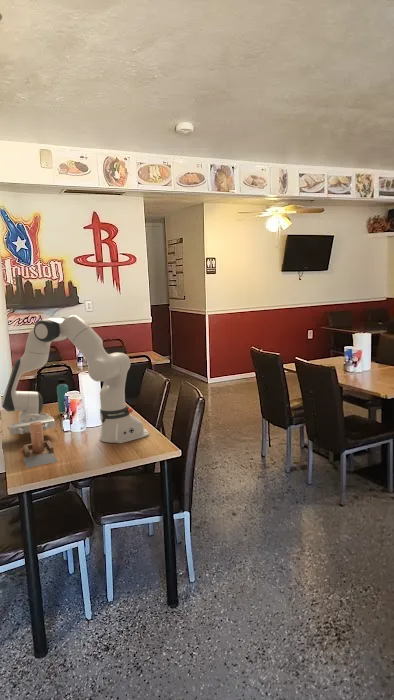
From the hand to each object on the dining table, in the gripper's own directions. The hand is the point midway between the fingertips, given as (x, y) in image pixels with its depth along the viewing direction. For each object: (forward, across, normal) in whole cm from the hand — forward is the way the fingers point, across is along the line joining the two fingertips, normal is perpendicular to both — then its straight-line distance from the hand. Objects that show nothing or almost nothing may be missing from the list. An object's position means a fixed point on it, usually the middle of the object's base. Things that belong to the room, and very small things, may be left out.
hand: (34, 430), depth 208 cm
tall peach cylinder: (+11, 0, +7) cm, 13 cm away
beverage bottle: (-48, +22, +7) cm, 53 cm away
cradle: (+9, 0, +7) cm, 12 cm away
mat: (+21, -1, +7) cm, 23 cm away
